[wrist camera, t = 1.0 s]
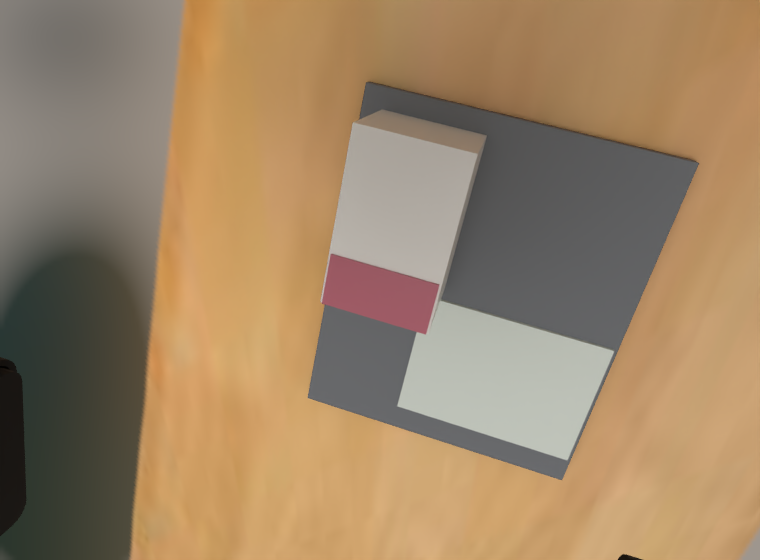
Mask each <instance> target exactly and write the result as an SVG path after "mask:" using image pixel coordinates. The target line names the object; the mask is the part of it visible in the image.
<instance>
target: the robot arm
mask: <svg viewBox="0 0 760 560" xmlns="http://www.w3.org/2000/svg"><path fill="white" fill-rule="evenodd" d="M25 504H26V479H25V450H24V421H23V392H22V379H21V376H20V375H19V373H17V370H16V366H15V365H14V363H13V362H12V361H9V360H7V359H4V358H1V357H0V536H1V535H2V534H3V533H4V532H5V531H7V530H8V529H9V528H10V527H11V526H12V525H13V524H14V523H15V522H16V521H17V520H18V518H19V517H20V516H21V514H22V512H23V510H24V507H25ZM618 560H642V559H639V558H636V557H632V556H629V555H625V554H623V555H621V556H620V557H619V558H618Z"/></svg>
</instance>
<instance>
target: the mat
mask: <svg viewBox="0 0 760 560" xmlns="http://www.w3.org/2000/svg"><path fill="white" fill-rule="evenodd" d="M382 109H383V110H387V111H391V112H395V113H399V114H403V115H407V116H411V117H415V118H419V119H423V120H427V121H431V122H435V123H439V124H443V125H447V126H451V127H455V128H459V129H463V130H467V131H471V132H475V133H479V134H483V135H487V137H486V141H485V144H484V148H483V152H482V155H481V159H480V163H479V166H478V170H477V173H476V177H475V181H474V184H473V188H472V192H471V195H470V199H469V202H468V206H467V210H466V213H465V217H464V220H463V224H462V228H461V231H460V235H459V239H458V242H457V246H456V249H455V253H454V257H453V260H452V264H451V267H450V271H449V275H448V278H447V282H446V286H445V289H444V292H443V295H442V298H441V301H440V303H439V306H438V309H437V312H436V315H435V317H434V320H433V323H432V326H431V329H430V331H429V334H426V335H425V334H422V333H419V332H415V331H412V330H409V329H405V328H402V327H399V326H395V325H392V324H388V323H385V322H382V321H378V320H375V319H372V318H368V317H365V316H362V315H358V314H355V313H352V312H348V311H345V310H342V309H338V308H335V307H332V306H328V305H325V307H324V312H323V318H322V323H321V329H320V334H319V339H318V345H317V350H316V356H315V361H314V366H313V372H312V377H311V383H310V388H309V393H308V398H310V399H313V400H316V401H319V402H322V403H325V404H328V405H331V406H334V407H337V408H340V409H344V410H347V411H350V412H353V413H356V414H359V415H362V416H365V417H368V418H371V419H374V420H378V421H381V422H384V423H387V424H390V425H393V426H396V427H399V428H402V429H405V430H408V431H411V432H415V433H418V434H421V435H424V436H427V437H430V438H433V439H436V440H439V441H442V442H445V443H449V444H452V445H455V446H458V447H461V448H464V449H467V450H470V451H473V452H476V453H479V454H483V455H486V456H489V457H492V458H495V459H498V460H501V461H504V462H507V463H510V464H513V465H516V466H520V467H523V468H526V469H529V470H532V471H535V472H538V473H541V474H544V475H547V476H550V477H554V478H557V479H560V480H562V479H563V476H564V474H565V472H566V469H567V467H568V465H569V462H570V460H571V458H572V456H573V453H574V451H575V449H576V446H577V444H578V442H579V439H580V437H581V435H582V432H583V430H584V428H585V426H586V423H587V421H588V419H589V416H590V414H591V412H592V409H593V407H594V405H595V402H596V400H597V398H598V395H599V393H600V391H601V389H602V386H603V384H604V382H605V379H606V377H607V375H608V372H609V370H610V368H611V365H612V363H613V361H614V359H615V356H616V354H617V352H618V349H619V347H620V345H621V342H622V340H623V338H624V335H625V333H626V331H627V329H628V326H629V324H630V322H631V319H632V317H633V315H634V312H635V310H636V308H637V305H638V303H639V301H640V298H641V296H642V294H643V292H644V289H645V287H646V285H647V282H648V280H649V278H650V275H651V273H652V271H653V268H654V266H655V264H656V262H657V259H658V257H659V255H660V252H661V250H662V248H663V245H664V243H665V241H666V238H667V236H668V234H669V231H670V229H671V227H672V225H673V222H674V220H675V218H676V215H677V213H678V211H679V208H680V206H681V204H682V201H683V199H684V197H685V195H686V192H687V190H688V188H689V185H690V183H691V181H692V178H693V176H694V174H695V171H696V169H697V167H698V165H699V163H698V162H696V161H694V160H690V159H686V158H682V157H678V156H674V155H669V154H665V153H661V152H657V151H653V150H649V149H645V148H641V147H636V146H632V145H628V144H624V143H620V142H616V141H612V140H608V139H603V138H599V137H595V136H591V135H587V134H583V133H579V132H575V131H570V130H566V129H562V128H558V127H554V126H550V125H546V124H542V123H537V122H533V121H529V120H525V119H521V118H517V117H513V116H509V115H505V114H500V113H496V112H492V111H488V110H484V109H480V108H476V107H472V106H467V105H463V104H459V103H455V102H451V101H447V100H443V99H439V98H434V97H430V96H426V95H422V94H418V93H414V92H410V91H406V90H401V89H397V88H393V87H389V86H385V85H381V84H377V83H373V82H366V86H365V91H364V96H363V102H362V107H361V113H360V118H359V119H362V118H364V117H366V116H369V115H371V114H373V113H375V112H378V111H380V110H382Z"/></svg>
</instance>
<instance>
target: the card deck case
mask: <svg viewBox="0 0 760 560" xmlns="http://www.w3.org/2000/svg"><path fill="white" fill-rule="evenodd" d="M486 137H487V135H483V134H479V133H475V132H471V131H467V130H463V129H459V128H455V127H451V126H447V125H443V124H439V123H435V122H431V121H427V120H423V119H419V118H415V117H411V116H407V115H403V114H399V113H395V112H391V111H387V110H383V109H382V110H380V111H378V112H375V113H373V114H371V115H369V116H366V117H364V118H362V119H359V120H357V121H355V122H353V125H352V130H351V136H350V141H349V147H348V152H347V158H346V163H345V169H344V174H343V180H342V185H341V191H340V196H339V202H338V207H337V213H336V218H335V224H334V229H333V235H332V240H331V246H330V251H329V257H328V262H327V268H326V274H325V279H324V285H323V290H322V296H321V301H320V302H322V304H325V305H328V306H332V307H335V308H338V309H342V310H345V311H348V312H352V313H355V314H358V315H362V316H365V317H368V318H372V319H375V320H378V321H382V322H385V323H388V324H392V325H395V326H399V327H402V328H405V329H409V330H412V331H415V332H419V333H422V334H425V335H426V334H429V331H430V329H431V326H432V323H433V320H434V317H435V315H436V312H437V309H438V306H439V303H440V301H441V298H442V295H443V292H444V289H445V286H446V282H447V278H448V275H449V271H450V267H451V264H452V260H453V257H454V253H455V249H456V246H457V242H458V239H459V235H460V231H461V228H462V224H463V220H464V217H465V213H466V210H467V206H468V202H469V199H470V195H471V192H472V188H473V184H474V181H475V177H476V173H477V170H478V166H479V163H480V159H481V155H482V152H483V148H484V144H485V141H486Z"/></svg>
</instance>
